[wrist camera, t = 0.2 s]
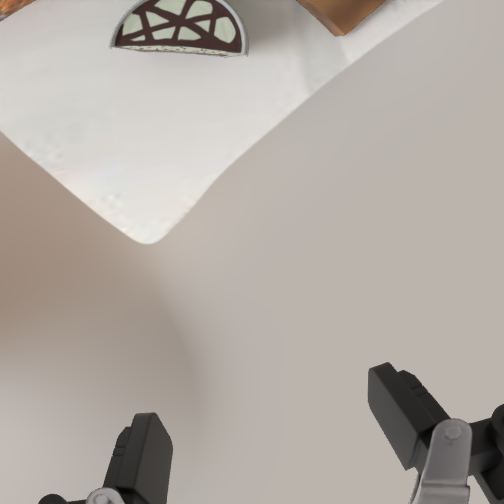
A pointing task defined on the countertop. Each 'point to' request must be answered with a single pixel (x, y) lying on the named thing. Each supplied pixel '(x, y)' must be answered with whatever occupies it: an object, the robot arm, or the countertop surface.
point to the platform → (340, 13)
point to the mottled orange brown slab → (11, 7)
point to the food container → (182, 28)
